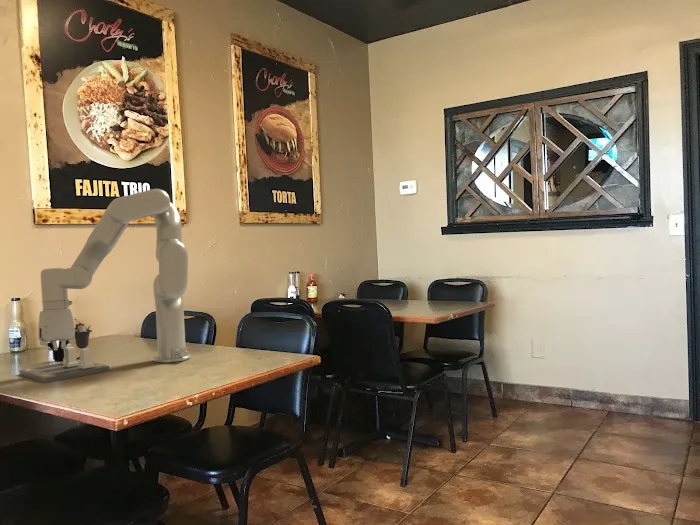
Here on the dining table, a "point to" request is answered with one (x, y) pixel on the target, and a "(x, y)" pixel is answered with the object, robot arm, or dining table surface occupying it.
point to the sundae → (81, 335)
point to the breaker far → (64, 352)
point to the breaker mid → (70, 357)
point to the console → (60, 371)
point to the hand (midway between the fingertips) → (58, 361)
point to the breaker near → (85, 358)
